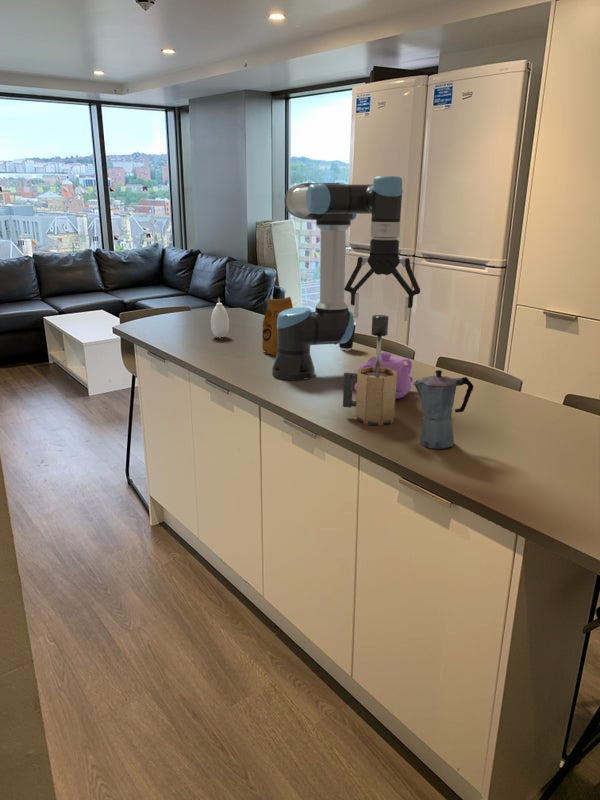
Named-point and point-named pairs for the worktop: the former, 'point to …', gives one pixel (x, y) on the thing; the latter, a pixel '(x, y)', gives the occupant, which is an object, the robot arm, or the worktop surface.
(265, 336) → the coffee package
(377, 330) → the plunger
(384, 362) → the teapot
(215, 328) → the sauce bottle
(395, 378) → the wooden slat mug
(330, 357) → the worktop surface
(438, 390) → the moka pot
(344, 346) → the dixie cup
